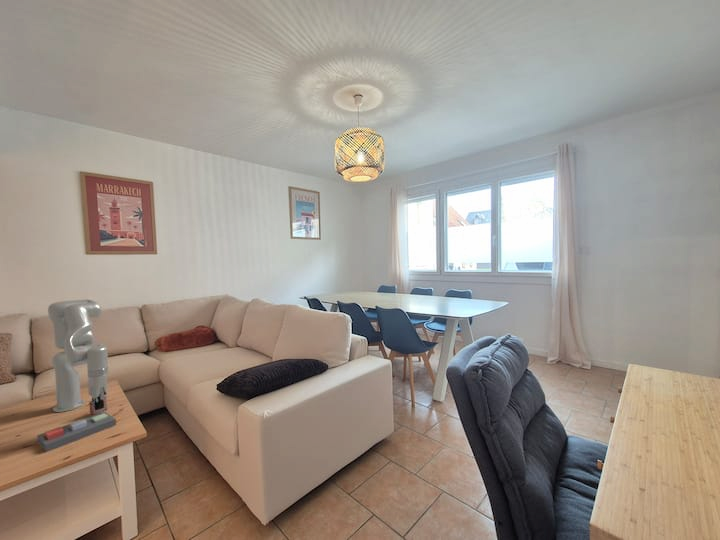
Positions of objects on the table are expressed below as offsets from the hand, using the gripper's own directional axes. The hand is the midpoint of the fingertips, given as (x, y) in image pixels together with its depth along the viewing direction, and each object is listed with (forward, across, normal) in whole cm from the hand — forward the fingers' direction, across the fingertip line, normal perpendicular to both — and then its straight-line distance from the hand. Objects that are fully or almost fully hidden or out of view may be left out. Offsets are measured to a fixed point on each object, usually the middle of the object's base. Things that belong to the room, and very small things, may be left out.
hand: (99, 408), depth 145 cm
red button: (+6, +1, -16) cm, 17 cm away
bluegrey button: (+7, +1, -8) cm, 10 cm away
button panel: (+8, +1, -8) cm, 11 cm away
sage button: (+7, +1, 0) cm, 7 cm away
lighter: (+9, -15, +4) cm, 18 cm away
